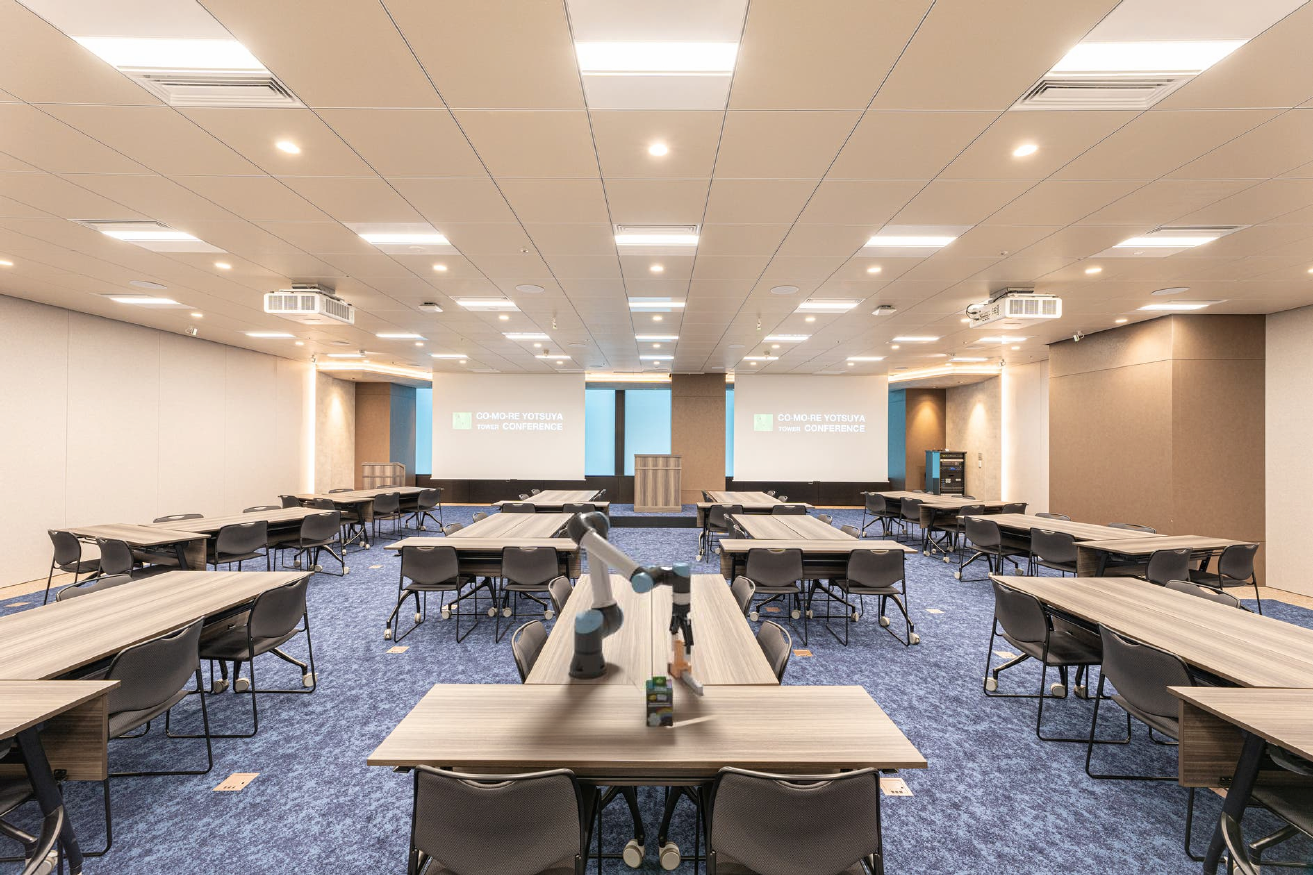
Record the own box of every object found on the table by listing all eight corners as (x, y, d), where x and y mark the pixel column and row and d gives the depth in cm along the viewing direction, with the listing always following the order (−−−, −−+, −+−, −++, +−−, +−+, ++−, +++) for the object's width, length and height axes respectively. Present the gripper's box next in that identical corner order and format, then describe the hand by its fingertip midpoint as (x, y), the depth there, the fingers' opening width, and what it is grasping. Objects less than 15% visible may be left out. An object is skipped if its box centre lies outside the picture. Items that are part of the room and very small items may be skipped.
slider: (670, 672, 202) (670, 639, 202) (685, 669, 204) (685, 637, 205) (676, 678, 196) (676, 644, 197) (691, 675, 199) (691, 642, 199)
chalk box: (671, 712, 172) (672, 669, 173) (673, 726, 163) (674, 681, 163) (645, 712, 172) (645, 669, 172) (645, 726, 162) (646, 681, 163)
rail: (661, 673, 203) (661, 661, 204) (687, 668, 208) (688, 657, 208) (687, 700, 180) (687, 688, 180) (716, 695, 185) (716, 683, 185)
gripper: (661, 595, 211) (661, 646, 210) (685, 611, 189) (685, 669, 188) (677, 593, 214) (677, 644, 213) (702, 609, 192) (702, 666, 191)
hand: (680, 656), depth 201 cm, fingers open, 11 cm apart
